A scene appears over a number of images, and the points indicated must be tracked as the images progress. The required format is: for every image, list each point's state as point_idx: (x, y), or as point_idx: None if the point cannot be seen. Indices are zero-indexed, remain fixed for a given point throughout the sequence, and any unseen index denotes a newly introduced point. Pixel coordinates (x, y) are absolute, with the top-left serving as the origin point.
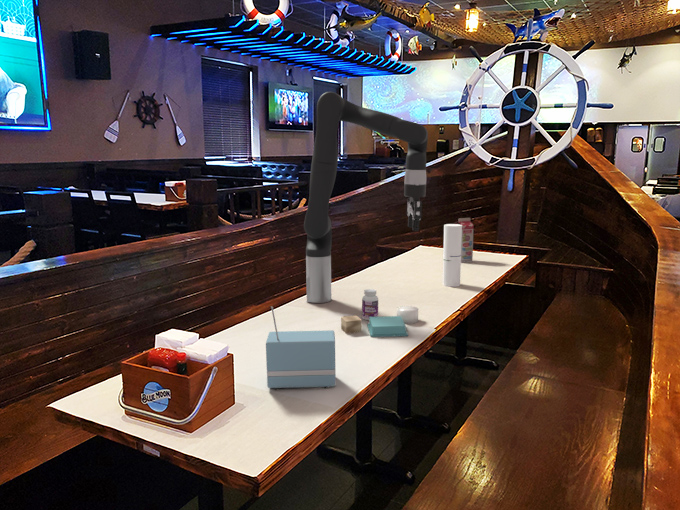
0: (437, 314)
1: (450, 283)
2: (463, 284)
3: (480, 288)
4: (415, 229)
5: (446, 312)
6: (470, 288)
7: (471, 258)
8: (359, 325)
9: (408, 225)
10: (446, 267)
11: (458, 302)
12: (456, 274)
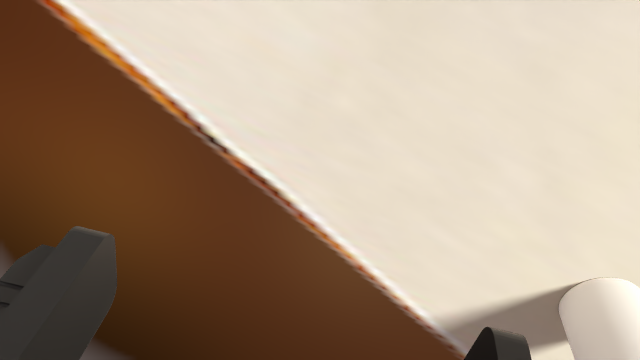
0: (165, 31)
1: (576, 299)
2: None
3: None
4: (44, 258)
5: (190, 83)
6: None
7: None
8: None
9: (496, 349)
10: (626, 354)
11: (322, 197)
12: (574, 351)
